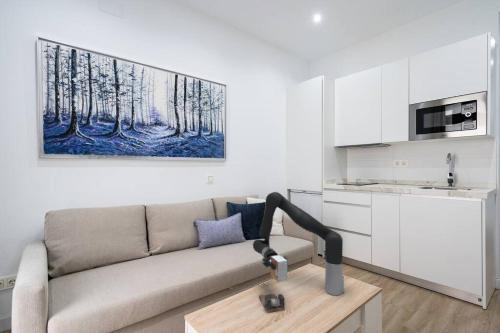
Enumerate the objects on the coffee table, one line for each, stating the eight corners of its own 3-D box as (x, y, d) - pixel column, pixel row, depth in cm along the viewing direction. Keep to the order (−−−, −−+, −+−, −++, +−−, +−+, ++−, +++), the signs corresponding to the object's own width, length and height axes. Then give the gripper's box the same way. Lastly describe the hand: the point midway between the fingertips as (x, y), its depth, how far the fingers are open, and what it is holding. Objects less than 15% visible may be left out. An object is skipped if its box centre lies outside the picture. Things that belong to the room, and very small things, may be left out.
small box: (270, 275, 129) (270, 256, 129) (279, 273, 131) (279, 254, 131) (277, 282, 122) (278, 261, 122) (287, 280, 124) (287, 260, 124)
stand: (274, 295, 134) (274, 284, 134) (284, 310, 120) (284, 298, 120) (259, 297, 132) (259, 286, 132) (267, 313, 118) (267, 300, 118)
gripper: (258, 249, 139) (267, 261, 122) (281, 247, 142) (293, 259, 126) (257, 262, 139) (267, 276, 122) (281, 260, 142) (293, 273, 126)
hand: (280, 267), depth 124 cm, fingers closed on small box, 6 cm apart
